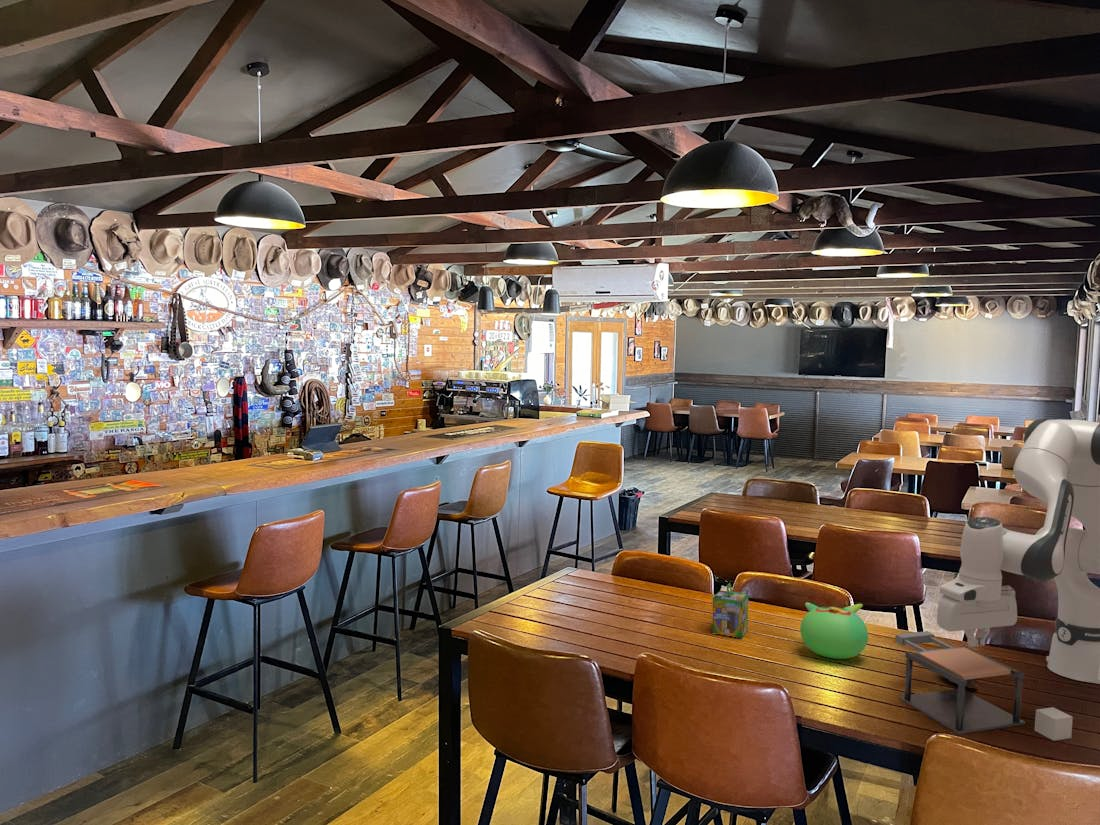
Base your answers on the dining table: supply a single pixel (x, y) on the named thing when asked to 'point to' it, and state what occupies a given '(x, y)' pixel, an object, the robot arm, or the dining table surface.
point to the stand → (961, 701)
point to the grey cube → (1053, 723)
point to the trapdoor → (953, 657)
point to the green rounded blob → (834, 631)
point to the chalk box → (730, 613)
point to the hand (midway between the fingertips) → (975, 645)
